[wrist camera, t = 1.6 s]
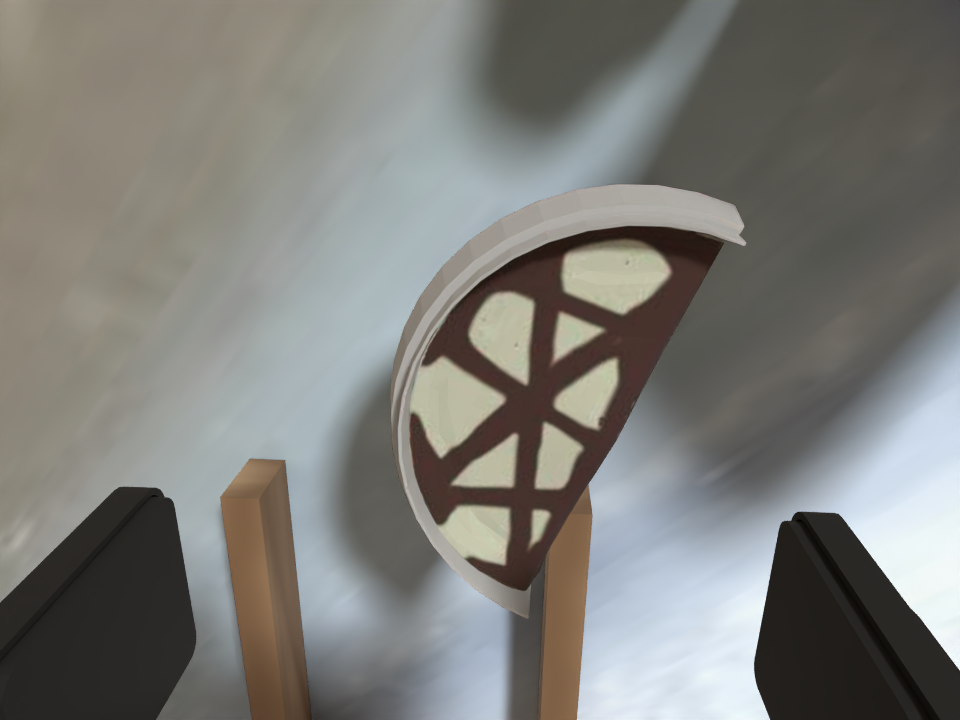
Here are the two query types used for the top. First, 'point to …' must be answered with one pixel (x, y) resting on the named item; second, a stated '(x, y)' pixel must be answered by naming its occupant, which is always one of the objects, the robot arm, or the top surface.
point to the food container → (539, 366)
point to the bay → (277, 617)
